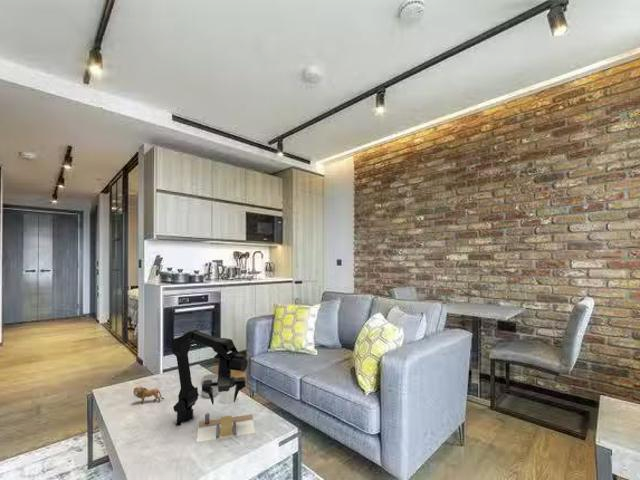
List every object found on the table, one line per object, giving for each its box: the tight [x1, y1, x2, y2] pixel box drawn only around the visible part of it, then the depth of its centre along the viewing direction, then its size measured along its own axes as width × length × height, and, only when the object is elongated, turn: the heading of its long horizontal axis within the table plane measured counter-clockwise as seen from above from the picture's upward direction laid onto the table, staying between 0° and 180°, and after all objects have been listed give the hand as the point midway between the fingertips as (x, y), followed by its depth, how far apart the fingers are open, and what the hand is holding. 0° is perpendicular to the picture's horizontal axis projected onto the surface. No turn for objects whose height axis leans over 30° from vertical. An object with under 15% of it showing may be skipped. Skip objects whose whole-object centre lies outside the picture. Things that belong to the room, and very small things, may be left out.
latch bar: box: [220, 415, 233, 437], centre depth 139 cm, size 8×4×4 cm, turn 16°
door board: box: [195, 413, 256, 443], centre depth 142 cm, size 24×16×5 cm
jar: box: [219, 376, 238, 405], centre depth 168 cm, size 9×8×12 cm
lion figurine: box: [133, 386, 165, 405], centre depth 168 cm, size 15×5×9 cm, turn 113°
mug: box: [200, 373, 218, 399], centre depth 177 cm, size 13×9×10 cm
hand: (223, 403), depth 142 cm, fingers open, 9 cm apart
